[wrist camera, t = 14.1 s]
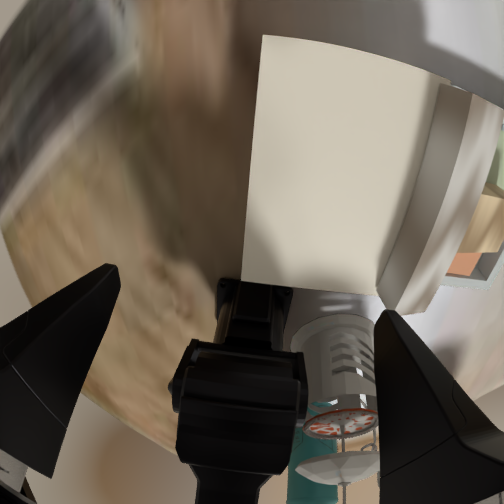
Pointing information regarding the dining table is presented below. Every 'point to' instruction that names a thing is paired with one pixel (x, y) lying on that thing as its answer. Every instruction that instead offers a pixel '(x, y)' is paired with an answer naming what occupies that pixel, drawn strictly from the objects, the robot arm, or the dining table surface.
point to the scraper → (447, 202)
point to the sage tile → (497, 164)
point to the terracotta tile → (464, 263)
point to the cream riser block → (332, 163)
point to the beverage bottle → (305, 447)
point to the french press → (339, 395)
